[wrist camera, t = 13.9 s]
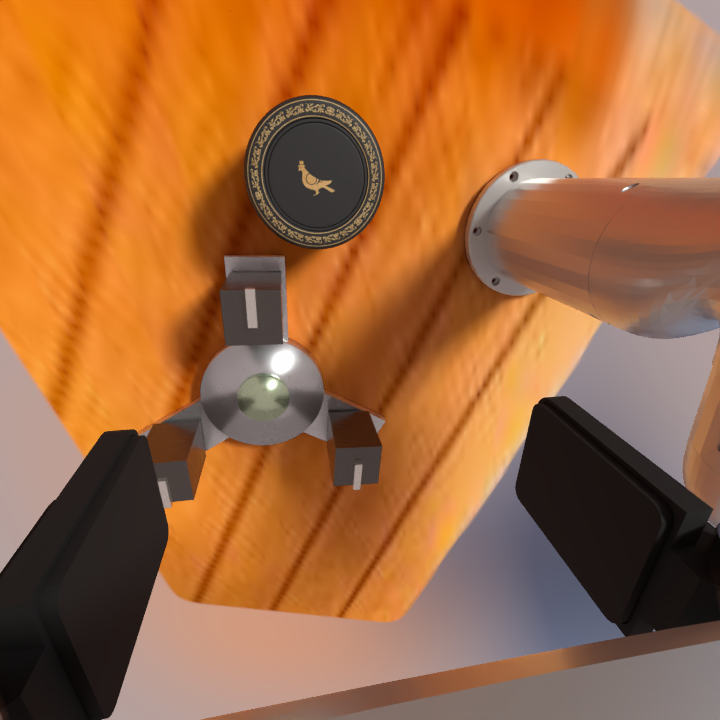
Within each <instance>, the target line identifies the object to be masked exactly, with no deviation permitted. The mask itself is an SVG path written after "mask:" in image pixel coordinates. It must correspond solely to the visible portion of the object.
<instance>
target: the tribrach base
mask: <svg viewBox="0 0 720 720" xmlns="http://www.w3.org/2000/svg"><path fill="white" fill-rule="evenodd" d="M224 261H225V271H226V278H227V276H228V275H229V273H230V272H281V285H282V308H283V344H274V345H242V346H226V345H224V346H223V347H221V348H220V349H219V350H218V351H217V352H216V353H215V355H214V356H213V357H212V359H211V360H210V362H209V364H208V366H207V368H206V371H205V373H204V376H203V379H202V382H201V390H200V395H201V396H200V397H199V398H197V399H195V400H193V401H192V402H190V403H188V404H186V405H185V406H183V407H181V408H179V409H178V410H176V411H174V412H172V413H171V414H169V415H167V416H165V417H164V418H162V419H160V420H158V421H157V422H155V423H153V424H160V423H173V422H187V421H200V423H201V429H202V436H203V442H204V448H205V451H206V450H208V449H210V448H212V447H213V446H215V445H217V444H219V443H220V442H222V441H224V440H226V439H228V438H229V437H230V438H232V439H234V440H237V441H239V442H243V443H247V444H252V445H272V444H278V443H282V442H285V441H288V440H290V439H292V438H294V437H296V436H298V435H299V434H301V433H302V432H304V433H307V434H309V435H312V436H314V437H317V438H319V439H322V440H324V441H327V436H328V414H329V412H354V411H369V413H370V415H371V418H372V421H373V423H374V426H375V429H376V432H377V433H378V431H379V430H380V428H381V427H382V426H383V424H384V423H385V421H386V420H385V418H384V416H382V415H380V414H378V413H376V412H373V411H371V410H369V409H367V408H365V407H362V406H360V405H358V404H356V403H354V402H352V401H349V400H347V399H345V398H343V397H341V396H339V395H336V394H334V393H332V392H330V391H328V390H325V389H324V387H323V381H322V376H321V372H320V369H319V366H318V364H317V362H316V361H315V359H314V358H313V356H312V355H311V354H310V353H309V352H308V351H307V350H306V349H305V348H304V347H303V346H302V345H300V344H299V343H297V342H296V341H294V340H292V339H290V338H288V323H287V298H286V273H285V255H225V256H224ZM153 424H151V425H150V426H148V427H146V428H144V429H143V430H141V431H139V432H138V435H145V436H146V437H147V435H148V433H149V431H150V430H151V428H152V426H153Z"/></svg>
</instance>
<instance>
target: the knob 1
mask: <svg viewBox="0 0 720 720" xmlns="http://www.w3.org/2000/svg"><path fill="white" fill-rule="evenodd" d="M146 438H147V440H148V444H149V448H150V452H151V456H152V460H153V464H154V469H155V473H156V477H157V481H158V485H159V490H160V494H161V498H162V502H163V506H164V508H171V507H172V504H173V502H175V501H185V500H194V497H195V494H196V490H197V486H198V483H199V479H200V476H201V472H202V468H203V465H204V461H205V457H206V454H205V448H204V442H203V436H202V429H201V423H200V421H187V422H173V423H160V424H153V426H152V428H151V430H150V431H149V433H148V435H147V437H146Z"/></svg>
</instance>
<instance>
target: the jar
mask: <svg viewBox="0 0 720 720" xmlns="http://www.w3.org/2000/svg"><path fill="white" fill-rule="evenodd" d="M244 177H245V184H246V189H247V192H248V196H249V199H250V201H251V203H252V205H253V208H254V209H255V211H256V213H257V214H258V216H259V217H260V219H261V220H262V221H263V222H264V224H265V225H266V226H267V227H268V228H269V229H270V230H271V231H272V232H273V233H275V234H276V235H277V236H279V237H280V238H282V239H283V240H285V241H287V242H289V243H291V244H294V245H296V246H299V247H303V248H308V249H327V248H332V247H336V246H339V245H342V244H344V243H346V242H348V241H350V240H351V239H353V238H354V237H356V236H357V235H358V234H359V233H361V232H362V231H363V230H364V229H365V227H366V226H367V225H368V224H369V223H370V221H371V220H372V218H373V217H374V215H375V213H376V211H377V209H378V207H379V204H380V201H381V198H382V194H383V189H384V180H385V172H384V162H383V157H382V153H381V150H380V147H379V144H378V142H377V140H376V138H375V136H374V134H373V132H372V130H371V129H370V127H369V126H368V125H367V123H366V122H365V121H364V120H363V119H362V118H361V117H360V116H359V115H358V114H357V113H356V112H355V111H354V110H352V109H351V108H350V107H348V106H347V105H345V104H343V103H341V102H339V101H337V100H334V99H332V98H328V97H324V96H317V95H305V96H298V97H294V98H291V99H288V100H286V101H284V102H282V103H280V104H278V105H277V106H275V107H274V108H272V109H271V110H270V111H269V112H268V113H267V114H266V115H265V116H264V117H263V118H262V119H261V120H260V121H259V123H258V124H257V126H256V127H255V129H254V131H253V133H252V135H251V137H250V140H249V142H248V146H247V149H246V154H245V162H244Z"/></svg>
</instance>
